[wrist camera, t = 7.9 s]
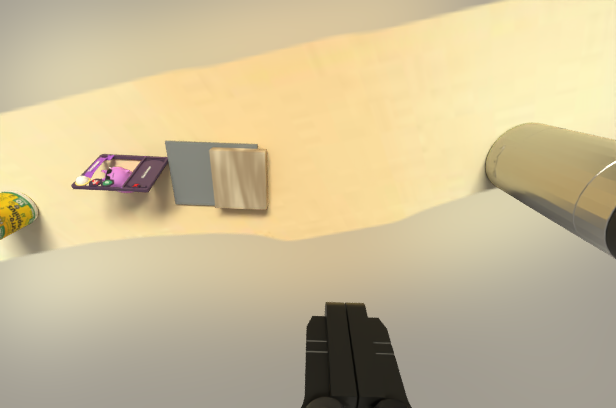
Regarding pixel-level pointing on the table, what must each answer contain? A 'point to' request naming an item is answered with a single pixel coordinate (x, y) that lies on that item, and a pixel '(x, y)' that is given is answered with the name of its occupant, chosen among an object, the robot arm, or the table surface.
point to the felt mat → (194, 170)
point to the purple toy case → (123, 175)
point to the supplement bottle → (15, 212)
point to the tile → (239, 177)
